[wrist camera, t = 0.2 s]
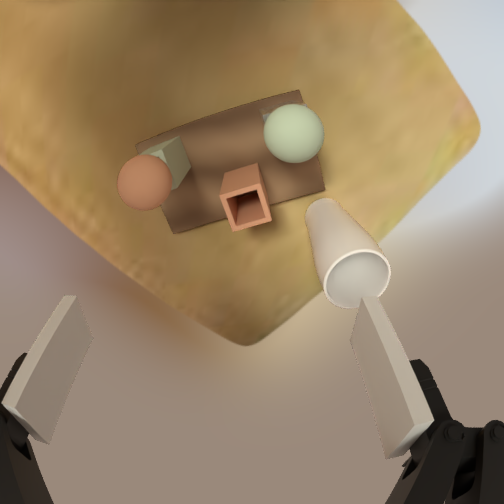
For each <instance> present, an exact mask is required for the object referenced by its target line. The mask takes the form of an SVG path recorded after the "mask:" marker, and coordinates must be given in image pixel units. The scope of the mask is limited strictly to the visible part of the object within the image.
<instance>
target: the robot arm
mask: <svg viewBox="0 0 504 504" xmlns="http://www.w3.org/2000/svg"><path fill="white" fill-rule="evenodd" d="M92 340H93V336H92V333H91V331H90V328H89V326H88V324H87V321H86V319H85V316H84V314H83V311H82V309H81V306H80V303H79V301H78V298H77V296H66V295H64V297H63V298H62V300H61V301H60V303H59V304H58V306H57V307H56V309H55V310H54V312H53V313H52V315H51V316H50V318H49V320H48V321H47V323H46V324H45V326H44V328H43V329H42V331H41V332H40V334H39V335H38V337H37V339H36V340H35V342H34V344H33V345H32V347H31V349H30V350H29V352H28V353H23V354H22V355H21V356H20V357H19V358H18V359H17V360H16V362H15V363H14V365H13V367H12V370H11V371H10V372H9V374H8V377H7V378H6V380H5V381H4V383H3V385H2V387H1V389H0V504H54V503H53V501H52V499H51V497H50V494H49V492H48V490H47V487H46V485H45V482H44V480H43V477H42V475H41V472H40V470H39V467H38V464H37V461H36V458H35V455H34V452H33V449H32V446H31V443H30V441H29V439H28V438H27V437H28V434H30V435H31V436H32V437H33V438H34V439H35V440H37V441H40V442H43V443H46V444H50V441H51V438H52V436H53V433H54V430H55V427H56V425H57V422H58V419H59V417H60V414H61V412H62V409H63V406H64V404H65V401H66V399H67V396H68V394H69V392H70V389H71V387H72V384H73V382H74V380H75V377H76V375H77V373H78V370H79V368H80V366H81V364H82V361H83V359H84V357H85V355H86V352H87V350H88V348H89V345H90V344H91V342H92ZM350 342H351V345H352V348H353V351H354V354H355V357H356V360H357V363H358V365H359V369H360V372H361V376H362V379H363V382H364V385H365V388H366V392H367V395H368V398H369V401H370V405H371V408H372V411H373V415H374V418H375V422H376V425H377V429H378V432H379V436H380V440H381V443H382V447H383V451H384V454H385V458H386V459H390V458H394V457H398V456H402V455H404V454H405V453H406V452H407V451H408V450H409V449H410V452H411V455H412V456H411V457H410V458H409V459H408V460H407V461H406V462H405V463H404V464H403V465H402V466H403V467H405V468H404V470H403V472H402V474H401V476H400V478H399V480H398V482H397V484H396V485H395V487H394V489H393V491H392V493H391V494H390V496H389V498H388V500H387V501H386V503H385V504H444V501H445V504H504V423H503V422H501V421H498V420H492V421H490V422H489V423H487V424H486V426H485V427H484V428H468V427H464V426H463V425H462V423H460V422H458V421H456V420H453V419H452V417H451V416H450V413H449V411H448V409H447V407H446V404H445V402H444V400H443V398H442V395H441V393H440V391H439V389H438V388H437V384H436V382H435V380H433V376H432V374H431V372H430V370H429V368H428V367H427V366H426V365H425V364H424V363H423V362H422V361H421V360H420V359H418V360H411V361H409V360H408V358H407V356H406V353H405V351H404V349H403V347H402V345H401V343H400V341H399V339H398V337H397V334H396V332H395V331H394V329H393V326H392V324H391V322H390V320H389V318H388V316H387V314H386V313H385V310H384V308H383V307H382V305H381V303H380V301H379V299H378V297H377V296H368V297H362V298H361V302H360V306H359V309H358V313H357V317H356V321H355V325H354V328H353V332H352V336H351V339H350Z"/></svg>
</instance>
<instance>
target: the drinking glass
mask: <svg viewBox="0 0 504 504" xmlns="http://www.w3.org/2000/svg"><path fill="white" fill-rule="evenodd" d="M305 223H306V226H307V229H308V233H309V238H310V243H311V248H312V254H313V259H314V264H315V268H316V272H317V275H318V278H319V281H320V283H321V286H322V288H323V291H324V293H325V295H326V297H327V298H328V300H329V301H330V302H331V303H333V304H334V305H336V306H338V307H340V308H345V309H355V308H359V306H360V302H361V298H362V297H368V296H377V297H380V296H381V295H382V293H383V292H384V291H385V289H386V288H387V286H388V284H389V281H390V277H391V268H390V264H389V262H388V260H387V259H386V257H385V255H384V253H383V252H382V250H381V249H380V247H379V246H378V244H377V243H376V241H375V240H374V239H373V238H372V237H371V235H370V234H369V233H368V232H367V231H366V230H365V229H364V228H363V227H362V226H361V225H360V224H359V223H358V222H357V221H356V220H355V219H354V218H353V217H352V216H351V215H350V214H349V213H348V212H347V211H346V210H345V209H344V208H343V207H342V205H341V204H340V203H339V202H337V201H336V200H334V199H331V198H321V199H318V200H316V201H314V202H313V203H312V204H311V205H310V206H309V207H308V209H307V210H306V213H305Z"/></svg>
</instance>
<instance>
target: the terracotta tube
mask: <svg viewBox="0 0 504 504" xmlns="http://www.w3.org/2000/svg"><path fill="white" fill-rule="evenodd" d="M256 189H257V193H254V194H250V195H247V196H243V197H240V198H238V196H237V195H240V194H243V193H246V192H250V191H253V190H256ZM219 196H220V199H221V202H222V204H223V207H224V210H225V212H226V215H227V218H228V220H229V223H230V226H231V228H232V231H233V232H234V231H238V230H241V229H245V228H248V227H252V226H255V225H259V224H262V223H266V222H269V221H272V218H271V212H270V207H269V201H268V196H267V192H266V188H265V185H264V182H263V179H262V176H261V172H260V169H259V166H258V163H255V164H252V165H249V166H245V167H242V168H239V169H236V170H232V171H229V172H226V173H225V174H224V178H223V182H222V186H221V190H220V194H219Z"/></svg>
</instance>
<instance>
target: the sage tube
mask: <svg viewBox="0 0 504 504" xmlns="http://www.w3.org/2000/svg"><path fill="white" fill-rule="evenodd" d="M145 154H147V155H153V156H156V157H158V156H159V158H160V159H161V160H163V161H164V162H165V163H166V165H167V166H168V168H169V170H170V172H171V175H172V188H171V190H173V189H176V188H178V186H179V185H180V183H181V182H182V180H183V178H184V177H185V175H186V174H187V172H188V171H189V169H190V168H191V165H190V162H189V160H188V157H187V155H186V152H185V149H184V147H183V144H182V141H181V139H180V136H178V137H175V138H173V139H170V140H168V141H165V142H163V143H160V144H158V145H155V146H153V147H150V148H148V149H147V150H145V151H144V152H142V153H141V154H140V155H145Z"/></svg>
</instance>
